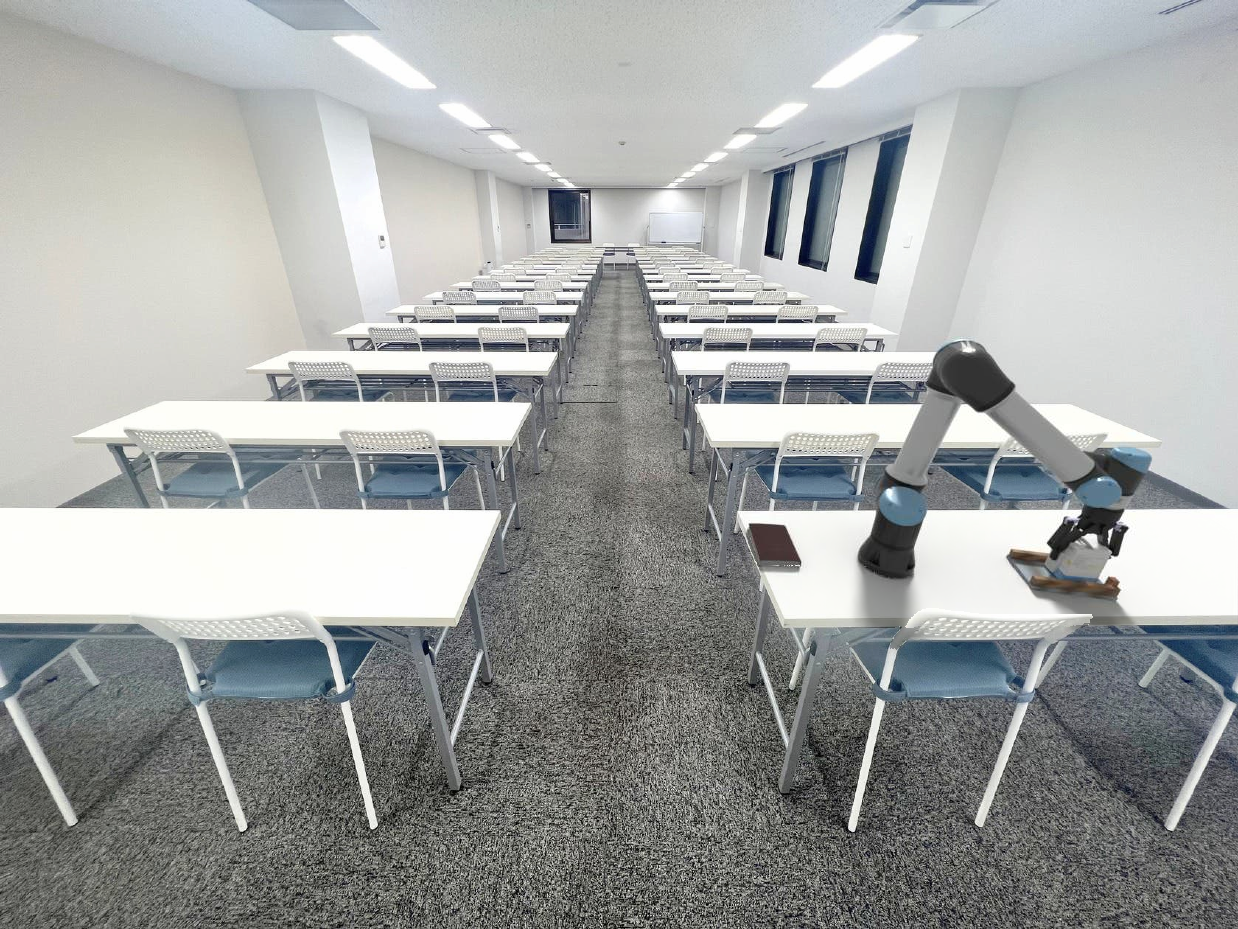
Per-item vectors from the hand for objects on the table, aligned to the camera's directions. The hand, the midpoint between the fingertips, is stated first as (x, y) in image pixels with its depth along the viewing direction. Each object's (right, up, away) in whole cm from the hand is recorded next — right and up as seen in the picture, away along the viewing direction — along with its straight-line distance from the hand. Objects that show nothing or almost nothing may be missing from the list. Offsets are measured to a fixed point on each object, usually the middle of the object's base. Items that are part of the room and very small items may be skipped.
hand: (1070, 570), depth 136 cm
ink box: (0, -1, +1) cm, 2 cm away
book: (-81, +3, +16) cm, 82 cm away
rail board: (-2, -2, +2) cm, 3 cm away
